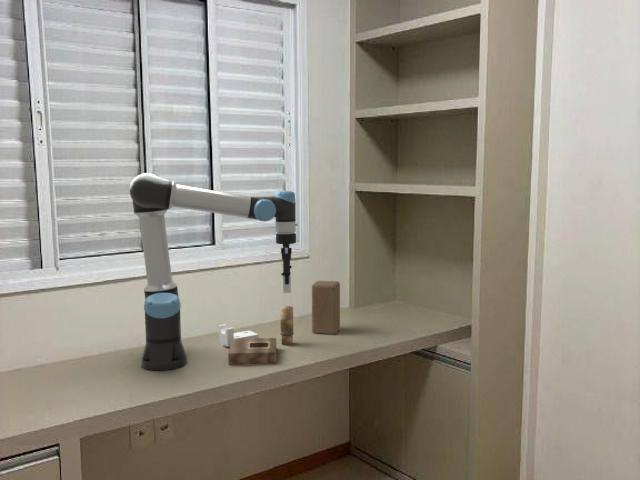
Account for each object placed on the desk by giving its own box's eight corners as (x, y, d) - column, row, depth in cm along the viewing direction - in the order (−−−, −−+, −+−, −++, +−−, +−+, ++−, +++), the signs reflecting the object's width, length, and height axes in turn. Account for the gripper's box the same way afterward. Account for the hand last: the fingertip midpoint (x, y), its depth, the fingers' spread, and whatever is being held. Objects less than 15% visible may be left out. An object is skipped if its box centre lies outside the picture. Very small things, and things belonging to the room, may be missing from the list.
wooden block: (336, 334, 248) (335, 285, 246) (311, 333, 250) (311, 284, 248) (340, 328, 258) (340, 280, 256) (316, 327, 260) (316, 280, 258)
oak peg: (280, 345, 234) (280, 309, 232) (280, 342, 239) (280, 306, 237) (293, 345, 234) (293, 308, 232) (293, 341, 239) (293, 305, 237)
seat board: (228, 364, 211) (228, 353, 211) (232, 349, 229) (232, 338, 229) (275, 363, 212) (275, 352, 212) (276, 348, 230) (276, 337, 230)
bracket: (227, 349, 230) (227, 329, 230) (219, 344, 236) (218, 325, 235) (258, 343, 238) (258, 324, 237) (249, 339, 244) (249, 320, 243)
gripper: (296, 236, 219) (297, 295, 222) (295, 229, 244) (296, 282, 246) (275, 236, 219) (276, 296, 221) (276, 229, 243) (277, 283, 246)
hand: (287, 289), depth 234 cm, fingers open, 13 cm apart
